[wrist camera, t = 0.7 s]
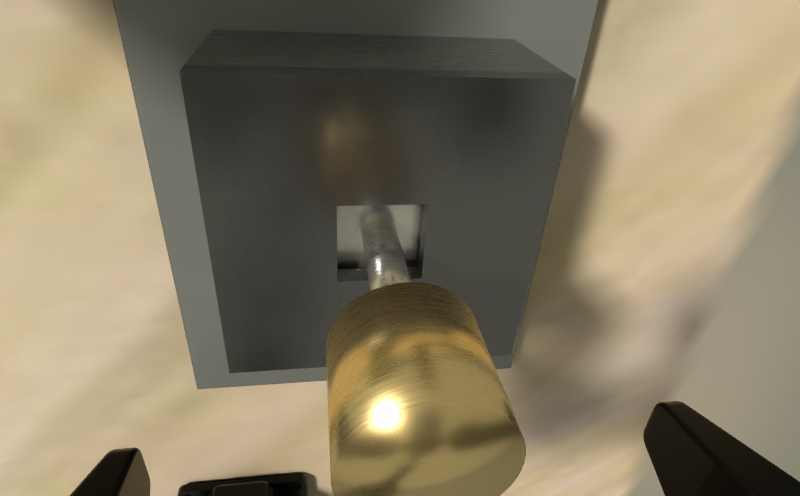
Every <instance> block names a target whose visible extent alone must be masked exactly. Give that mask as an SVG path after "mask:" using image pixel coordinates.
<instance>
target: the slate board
mask: <svg viewBox="0 0 800 496" xmlns="http://www.w3.org/2000/svg"><path fill="white" fill-rule="evenodd" d="M113 2H114V7H115V12H116V16H117V21H118V25H119V30H120V35H121V39H122V44H123V48H124V53H125V58H126V62H127V67H128V71H129V76H130V80H131V85H132V90H133V94H134V99H135V103H136V108H137V113H138V117H139V122H140V126H141V131H142V136H143V140H144V145H145V149H146V154H147V159H148V163H149V168H150V172H151V177H152V182H153V186H154V191H155V195H156V200H157V205H158V209H159V214H160V218H161V223H162V228H163V232H164V237H165V241H166V246H167V251H168V255H169V260H170V264H171V269H172V274H173V278H174V283H175V287H176V292H177V297H178V301H179V306H180V310H181V315H182V320H183V324H184V329H185V333H186V338H187V343H188V347H189V352H190V356H191V361H192V366H193V370H194V375H195V379H196V384H197V389H207V388H222V387H237V386H251V385H266V384H281V383H296V382H310V381H325V380H327V367H318V368H303V369H287V370H272V371H256V372H240V373H229V368H228V362H227V356H226V350H225V344H224V338H223V332H222V326H221V320H220V314H219V308H218V302H217V296H216V290H215V284H214V277H213V271H212V265H211V259H210V253H209V247H208V241H207V235H206V229H205V223H204V217H203V211H202V205H201V199H200V193H199V187H198V181H197V175H196V169H195V163H194V157H193V151H192V145H191V139H190V133H189V127H188V121H187V115H186V109H185V103H184V97H183V91H182V85H181V79H180V73H179V71H180V70H181V69H182V67H183V66H184V65H185V63H186V62H187V61H188V60H189V58H190V57H191V56H192V55H193V53H194V52H195V51H196V50H197V48H198V47H199V46H200V45H201V43H202V42H203V41H204V39H205V38H206V37H207V36H208V34H209V33H210V32H211V31H212V29H215V30H247V31H278V32H309V33H340V34H371V35H402V36H433V37H465V38H496V39H514V40H516V41H518V42H519V43H521V44H522V45H524V46H525V47H527V48H528V49H530V50H531V51H533V52H535V53H536V54H538V55H539V56H541V57H542V58H544V59H545V60H547V61H549V62H550V63H552V64H553V65H555V66H556V67H558V68H559V69H561V70H562V71H564V72H566V73H567V74H569V75H570V76H572V77H573V78H575V79H576V83H575V87H574V91H573V96H572V100H571V104H570V108H569V113H568V117H567V121H566V125H565V130H564V134H563V138H562V142H561V147H560V151H559V155H558V159H557V164H556V168H555V172H554V176H553V181H552V185H551V189H550V193H549V198H548V202H547V206H546V210H545V215H544V219H543V223H542V227H541V232H540V236H539V240H538V244H537V249H536V253H535V257H534V261H533V266H532V270H531V274H530V278H529V283H528V287H527V291H526V295H525V300H524V304H523V308H522V312H521V317H520V321H519V325H518V329H517V334H516V338H515V342H514V346H513V351H512V355H506V356H491V359H492V361H493V364H494V366H495V369H502V368H511V365H512V361H513V356H514V352H515V348H516V344H517V340H518V336H519V331H520V327H521V323H522V319H523V315H524V310H525V306H526V302H527V298H528V294H529V289H530V285H531V281H532V277H533V273H534V269H535V264H536V260H537V256H538V252H539V248H540V243H541V239H542V235H543V231H544V227H545V222H546V218H547V214H548V210H549V206H550V202H551V197H552V193H553V189H554V185H555V181H556V176H557V172H558V168H559V164H560V160H561V155H562V151H563V147H564V143H565V139H566V134H567V130H568V126H569V122H570V118H571V114H572V109H573V105H574V101H575V97H576V93H577V88H578V84H579V80H580V76H581V72H582V67H583V63H584V59H585V55H586V51H587V47H588V42H589V38H590V34H591V30H592V26H593V21H594V17H595V13H596V9H597V5H598V0H113Z"/></svg>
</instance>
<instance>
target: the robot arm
mask: <svg viewBox="0 0 800 496" xmlns="http://www.w3.org/2000/svg"><path fill="white" fill-rule="evenodd" d="M644 443H645V446H646V448H647V451H648V453H649V456H650V459H651V461H652V464H653V466H654V469H655V471H656V473H657V476H658V479H659V481H660V484H661V486H662V489H663V491H664V494H665V496H800V482H799V481H798V480H796V479H795V478H793V477H792V476H790V475H789V474H787V473H786V472H784V471H783V470H781V469H780V468H778V467H777V466H775V465H774V464H773V463H771V462H770V461H768V460H767V459H765V458H764V457H762V456H761V455H759V454H758V453H756V452H755V451H754V450H752V449H751V448H749V447H748V446H746V445H745V444H743V443H742V442H740V441H739V440H737V439H736V438H734V437H733V436H731V435H730V434H728V433H727V432H726V431H724V430H722V429H721V428H720V427H718V426H717V425H715V424H714V423H712V422H711V421H709V420H708V419H706V418H705V417H703V416H702V415H700V414H699V413H697V412H696V411H695V410H693V409H692V408H690V407H689V406H687V405H686V404H684V403H682V402H679V401H670V402H660V403H658V404H657V405H656V406H655V408H654V410H653V412H652V414H651V416H650V418H649V421H648V423H647V425H646V427H645V429H644ZM70 496H150V478H149V475H148V472H147V469H146V466H145V463H144V460H143V457H142V454H141V452H140V450H139V449H137V448H125V449H115V450H112V451H110V452H109V453H107V454H106V455H105V456H104V457H103V459H102V460H101V461H100V462H99V463H98V464H97V465H96V466H95V468H94V469H93V470H92V471H91V472H90V473H89V474H88V475H87V477H86V478H85V479H84V480H83V481H82V482H81V483H80V485H79V486H78V487H77V488H76V489H75V490H74V491H73V492H72V494H71V495H70ZM178 496H307V482H306V477H305V476H304V475H301V474H293V475H282V476H271V477H261V478H250V479H240V480H229V481H218V482H208V483H197V484H187V485H183V486H181V487H180V488H179V492H178Z"/></svg>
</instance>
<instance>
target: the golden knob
mask: <svg viewBox="0 0 800 496" xmlns="http://www.w3.org/2000/svg"><path fill="white" fill-rule="evenodd" d="M423 206H424V205H368V206H337V269H361V268H367V273H368V279H369V285H370V292H367V293H365V294H363V295H362V296H360V297H358V298H357V299H355V300H354V301H352V302H351V303H350V304H349V305H347V306H346V307H345V308H344V309H343V310H342V311H341V312H340V314H339V315H338V316H337V317H336V319H335V320H334V322H333V324H332V325H331V328H330V330H329V332H328V336H327V340H326V362H327V389H328V415H329V442H330V468H331V485H332V490H333V493H334V496H500V495H501V494H502V493H503V492H505V491H506V490H507V489H508V488H509V487H510V486H511V484H512V483H513V482H514V481H515V479H516V478H517V476H518V475H519V473H520V471H521V469H522V467H523V464H524V461H525V456H526V446H525V442H524V438H523V436H522V433H521V431H520V428H519V426H518V423H517V421H516V418H515V416H514V413H513V411H512V408H511V406H510V404H509V401H508V399H507V396H506V394H505V391H504V389H503V386H502V384H501V381H500V379H499V376H498V374H497V371H496V369H495V366H494V364H493V361H492V359H491V356H490V354H489V351H488V349H487V346H486V344H485V342H484V339H483V337H482V334H481V332H480V329H479V327H478V324H477V322H476V319H475V317H474V315H473V312H472V311H471V309H470V308H469V306H468V305H467V304H466V303H465V302H464V301H463V300H462V299H461V298H460V297H459V296H457V295H456V294H455V293H453V292H451V291H449V290H447V289H445V288H442V287H440V286H436V285H432V284H427V283H419V282H411V281H410V277H409V273H408V269H407V267H417V266H418V260H419V249H420V238H421V227H422V216H423Z"/></svg>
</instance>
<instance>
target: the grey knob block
mask: <svg viewBox="0 0 800 496" xmlns="http://www.w3.org/2000/svg"><path fill="white" fill-rule="evenodd" d="M179 73H180V79H181V85H182V91H183V97H184V103H185V109H186V115H187V121H188V127H189V133H190V139H191V145H192V151H193V157H194V163H195V169H196V175H197V181H198V187H199V193H200V199H201V205H202V211H203V217H204V223H205V229H206V235H207V241H208V247H209V253H210V259H211V265H212V271H213V277H214V284H215V290H216V296H217V302H218V308H219V314H220V320H221V326H222V332H223V338H224V344H225V350H226V356H227V362H228V368H229V373H240V372H256V371H272V370H287V369H303V368H318V367H327V362H326V340H327V336H328V332H329V330H330V328H331V325H332V324H333V322H334V320H335V319H336V317H337V316H338V315H339V314H340V312H341V311H342V310H343V309H344V308H345V307H346V306H347V305H349V304H350V303H351V302H352V301H354V300H355V299H357V298H358V297H360V296H362V295H363V294H365V293H367V292H370V285H369V279H368V273H367V268H361V269H337V206H368V205H424V206H423V216H422V227H421V238H420V249H419V260H418V266H417V267H407V269H408V273H409V277H410V281H411V282H419V283H427V284H432V285H436V286H440V287H442V288H445V289H447V290H449V291H451V292H453V293H455V294H456V295H457V296H459V297H460V298H461V299H462V300H463V301H464V302H465V303H466V304H467V305H468V306H469V308H470V309H471V311H472V312H473V315H474V317H475V319H476V322H477V324H478V327H479V329H480V332H481V334H482V337H483V339H484V342H485V344H486V346H487V349H488V351H489V354H490V356H506V355H512V351H513V346H514V342H515V338H516V334H517V329H518V325H519V321H520V317H521V312H522V308H523V304H524V300H525V295H526V291H527V287H528V283H529V278H530V274H531V270H532V266H533V261H534V257H535V253H536V249H537V244H538V240H539V236H540V232H541V227H542V223H543V219H544V215H545V210H546V206H547V202H548V198H549V193H550V189H551V185H552V181H553V176H554V172H555V168H556V164H557V159H558V155H559V151H560V147H561V142H562V138H563V134H564V130H565V125H566V121H567V117H568V113H569V108H570V104H571V100H572V96H573V91H574V87H575V83H576V79H575V78H573V77H572V76H570V75H569V74H567V73H566V72H564V71H562V70H561V69H559V68H558V67H556V66H555V65H553V64H552V63H550V62H549V61H547V60H545V59H544V58H542V57H541V56H539V55H538V54H536V53H535V52H533V51H531V50H530V49H528V48H527V47H525V46H524V45H522V44H521V43H519V42H518V41H516V40H514V39H496V38H465V37H433V36H402V35H371V34H340V33H309V32H278V31H247V30H215V29H212V31H211V32H210V33H209V34H208V36H207V37H206V38H205V39H204V41H203V42H202V43H201V45H200V46H199V47H198V48H197V50H196V51H195V52H194V53H193V55H192V56H191V57H190V58H189V60H188V61H187V62H186V63H185V65H184V66H183V67H182V69H181V70H180V71H179Z"/></svg>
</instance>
